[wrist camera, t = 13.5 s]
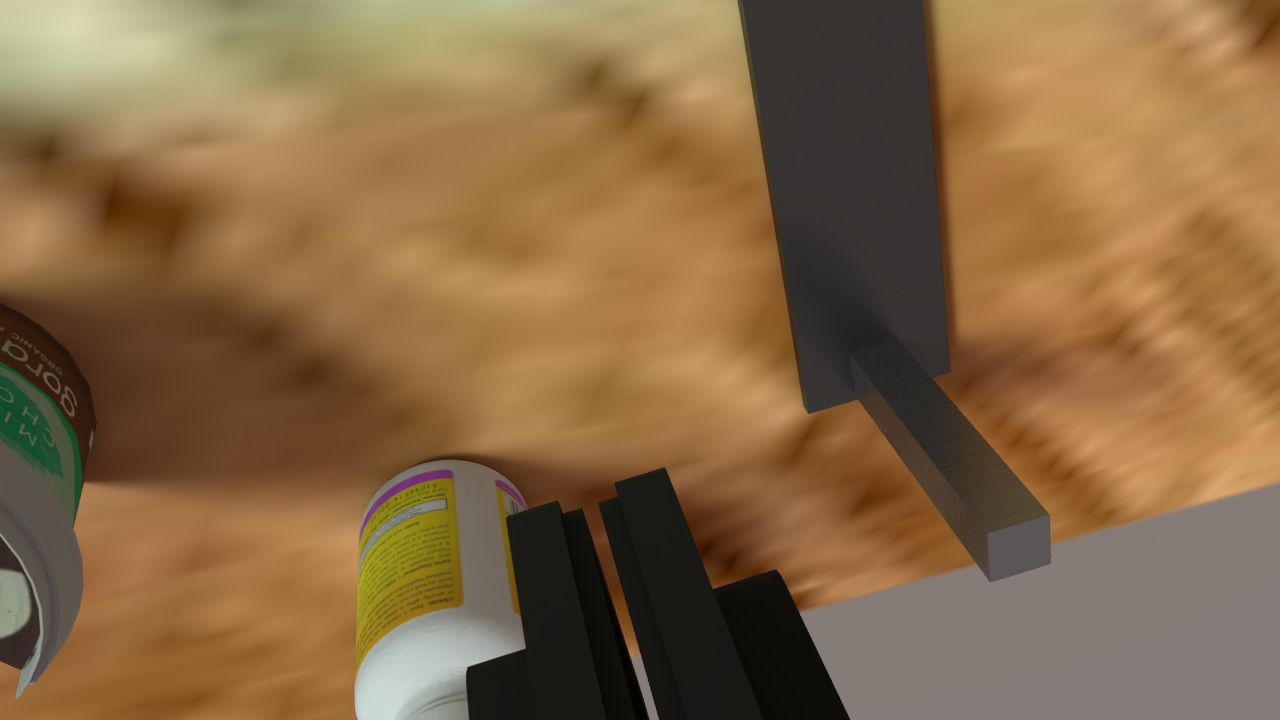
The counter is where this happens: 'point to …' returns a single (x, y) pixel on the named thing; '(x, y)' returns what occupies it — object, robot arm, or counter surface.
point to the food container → (39, 492)
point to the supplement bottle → (434, 589)
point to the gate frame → (875, 251)
